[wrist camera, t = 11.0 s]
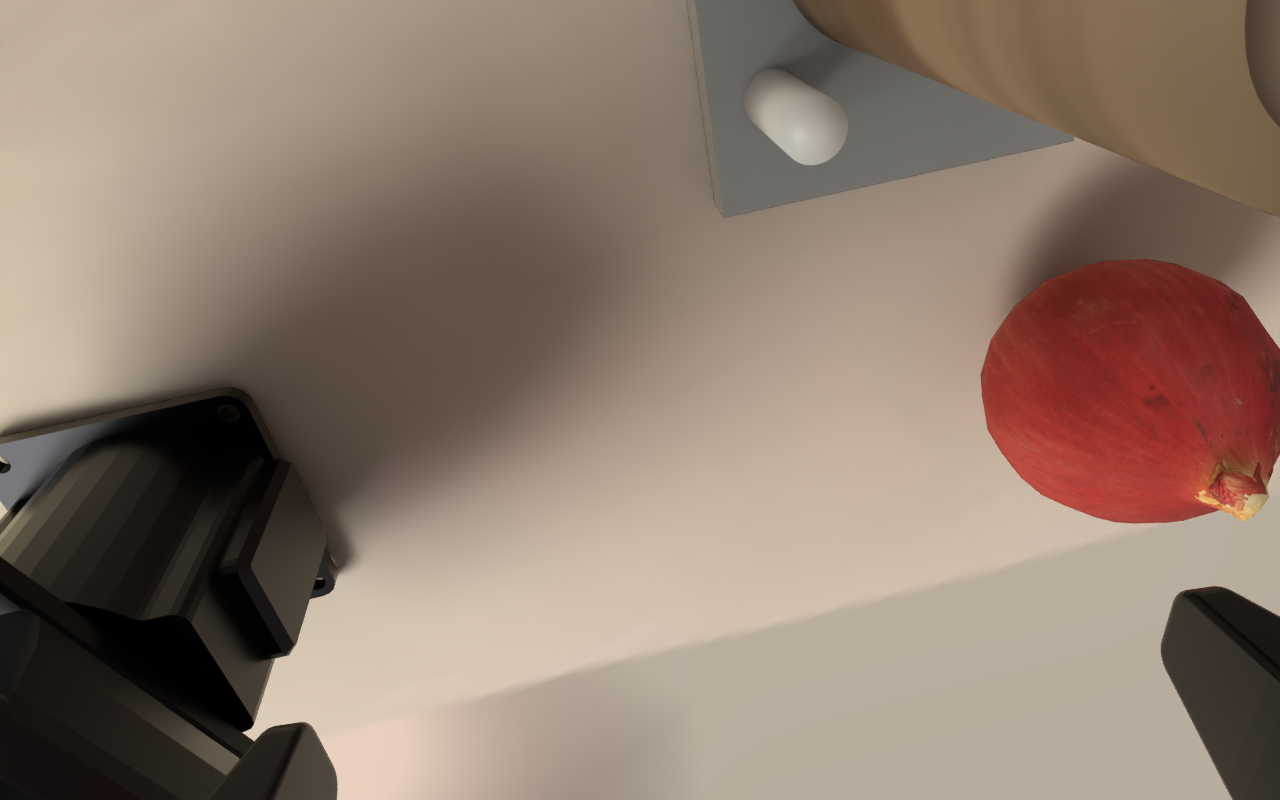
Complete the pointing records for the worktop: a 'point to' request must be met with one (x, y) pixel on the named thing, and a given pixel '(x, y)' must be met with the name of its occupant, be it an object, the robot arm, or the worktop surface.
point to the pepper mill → (1102, 73)
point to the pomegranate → (1137, 393)
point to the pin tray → (827, 111)
